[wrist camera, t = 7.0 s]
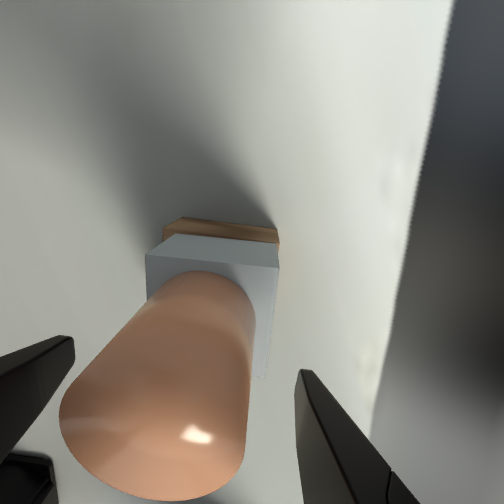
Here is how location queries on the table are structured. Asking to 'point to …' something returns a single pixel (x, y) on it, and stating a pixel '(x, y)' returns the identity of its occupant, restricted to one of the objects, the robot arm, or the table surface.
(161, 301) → the tan egg
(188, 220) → the walnut base block
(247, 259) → the slate block
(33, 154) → the table surface
